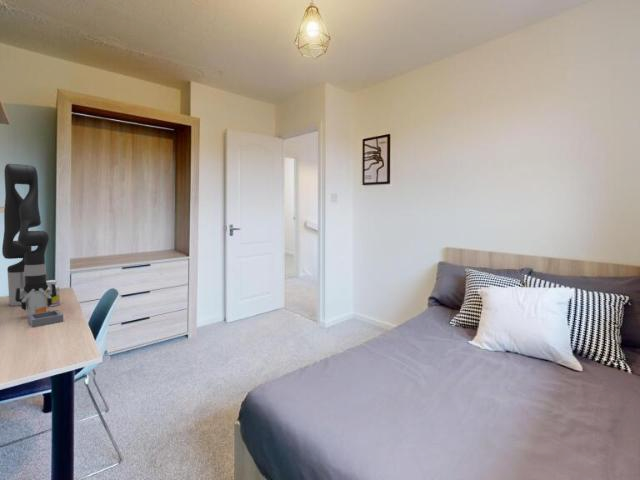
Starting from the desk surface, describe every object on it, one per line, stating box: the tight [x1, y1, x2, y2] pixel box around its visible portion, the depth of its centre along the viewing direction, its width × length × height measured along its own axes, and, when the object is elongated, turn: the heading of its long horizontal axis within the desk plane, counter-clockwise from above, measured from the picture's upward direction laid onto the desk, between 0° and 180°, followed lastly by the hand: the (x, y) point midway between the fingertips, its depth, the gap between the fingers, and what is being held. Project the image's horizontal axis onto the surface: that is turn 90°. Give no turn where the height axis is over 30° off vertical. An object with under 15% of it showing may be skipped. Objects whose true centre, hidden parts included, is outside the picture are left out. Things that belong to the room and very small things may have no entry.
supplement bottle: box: [46, 279, 61, 308], centre depth 167 cm, size 7×7×13 cm
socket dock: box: [27, 309, 64, 328], centre depth 143 cm, size 10×10×3 cm
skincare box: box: [26, 291, 48, 318], centre depth 150 cm, size 6×4×12 cm
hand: (37, 307), depth 150 cm, fingers open, 8 cm apart
